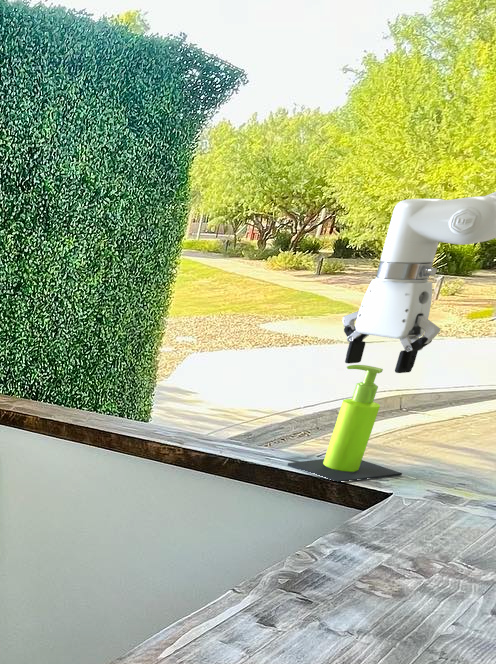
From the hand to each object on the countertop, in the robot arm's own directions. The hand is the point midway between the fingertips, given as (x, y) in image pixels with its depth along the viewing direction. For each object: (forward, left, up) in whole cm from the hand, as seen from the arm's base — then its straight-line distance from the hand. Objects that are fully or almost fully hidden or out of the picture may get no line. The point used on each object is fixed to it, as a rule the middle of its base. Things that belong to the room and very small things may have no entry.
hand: (376, 367), depth 144 cm
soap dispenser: (+1, -2, -20) cm, 20 cm away
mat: (0, 0, -21) cm, 21 cm away
